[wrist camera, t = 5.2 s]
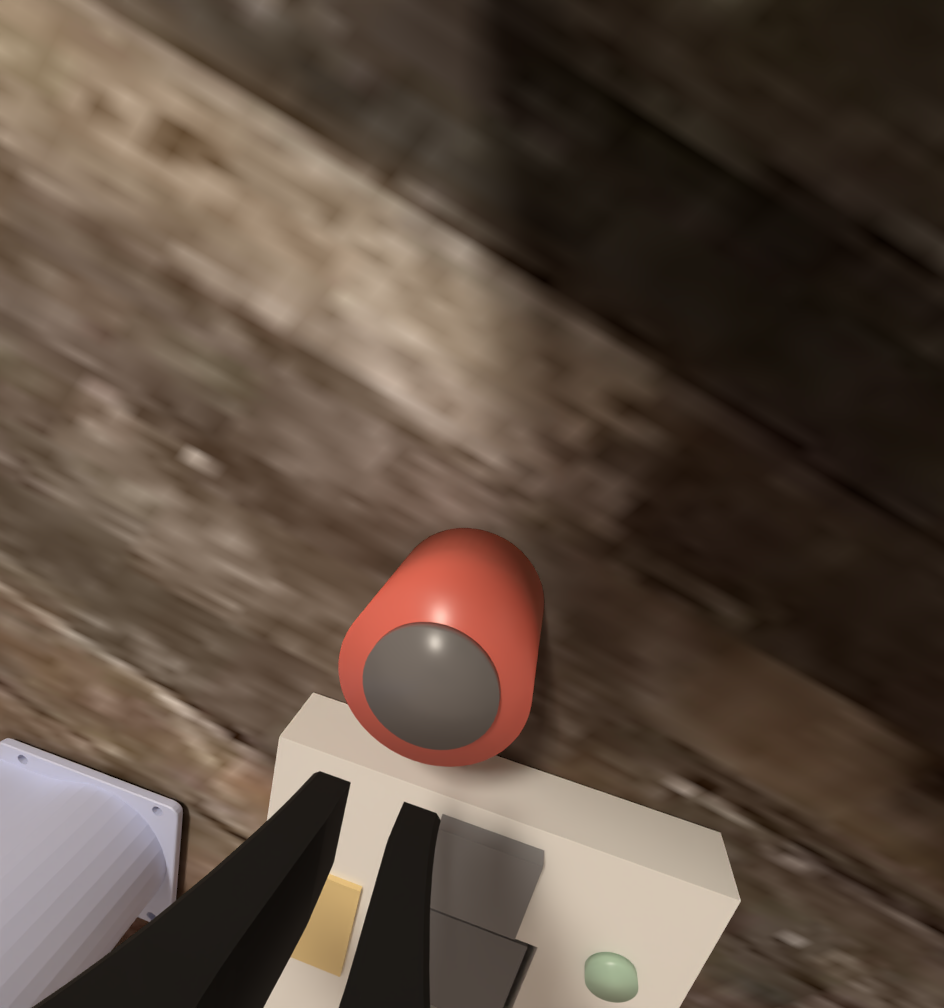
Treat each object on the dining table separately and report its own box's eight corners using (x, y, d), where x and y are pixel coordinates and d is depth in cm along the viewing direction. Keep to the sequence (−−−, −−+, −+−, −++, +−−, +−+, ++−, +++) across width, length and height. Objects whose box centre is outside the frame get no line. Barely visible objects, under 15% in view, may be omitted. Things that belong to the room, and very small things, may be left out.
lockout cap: (386, 637, 20) (320, 737, 15) (413, 509, 18) (350, 571, 13) (521, 682, 19) (501, 801, 14) (563, 553, 17) (557, 636, 12)
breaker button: (394, 921, 24) (375, 982, 21) (416, 841, 22) (398, 897, 20) (502, 963, 23) (493, 1030, 21) (533, 884, 21) (527, 947, 19)
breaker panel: (268, 955, 26) (229, 1032, 23) (313, 692, 21) (270, 748, 18) (587, 1085, 24) (588, 1186, 21) (720, 832, 19) (746, 920, 16)
